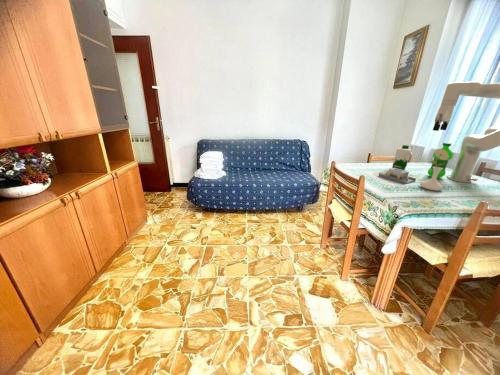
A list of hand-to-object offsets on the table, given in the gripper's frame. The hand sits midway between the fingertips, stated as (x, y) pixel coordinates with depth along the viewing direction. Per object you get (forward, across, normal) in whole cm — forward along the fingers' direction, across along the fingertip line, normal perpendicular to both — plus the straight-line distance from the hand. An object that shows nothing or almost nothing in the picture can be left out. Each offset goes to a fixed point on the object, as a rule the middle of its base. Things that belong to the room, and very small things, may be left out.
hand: (439, 130), depth 141 cm
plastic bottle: (+34, -5, +5) cm, 34 cm away
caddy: (+33, +25, -5) cm, 42 cm away
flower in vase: (+34, +24, +15) cm, 44 cm away
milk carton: (+34, +4, -16) cm, 37 cm away
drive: (+32, +25, -5) cm, 41 cm away
